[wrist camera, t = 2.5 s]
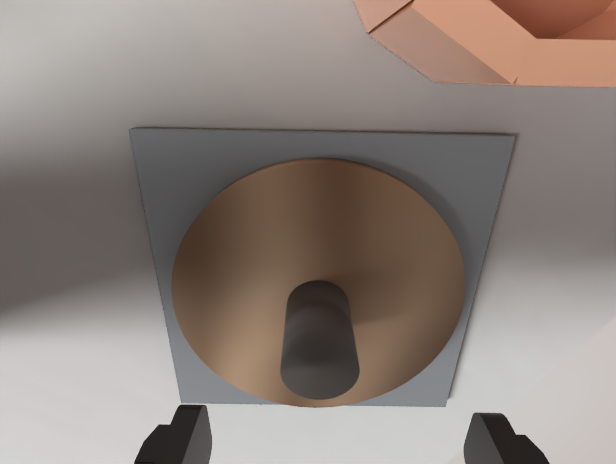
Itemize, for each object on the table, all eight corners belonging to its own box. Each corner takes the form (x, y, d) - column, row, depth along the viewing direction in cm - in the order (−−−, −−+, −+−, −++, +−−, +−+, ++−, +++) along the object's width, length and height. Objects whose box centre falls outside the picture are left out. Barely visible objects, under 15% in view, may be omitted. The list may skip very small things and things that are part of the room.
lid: (196, 391, 20) (164, 481, 16) (156, 154, 15) (86, 191, 10) (432, 394, 20) (467, 485, 16) (486, 159, 15) (566, 197, 10)
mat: (184, 396, 21) (181, 403, 21) (134, 127, 15) (128, 129, 14) (442, 399, 21) (445, 406, 21) (509, 134, 15) (515, 136, 14)
